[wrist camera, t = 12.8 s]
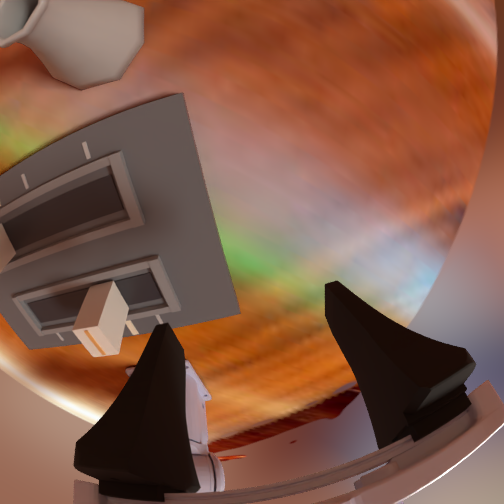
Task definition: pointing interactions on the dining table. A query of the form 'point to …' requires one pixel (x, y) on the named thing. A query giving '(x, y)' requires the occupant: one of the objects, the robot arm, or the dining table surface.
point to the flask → (76, 36)
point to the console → (113, 228)
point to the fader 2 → (102, 320)
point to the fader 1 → (5, 248)
